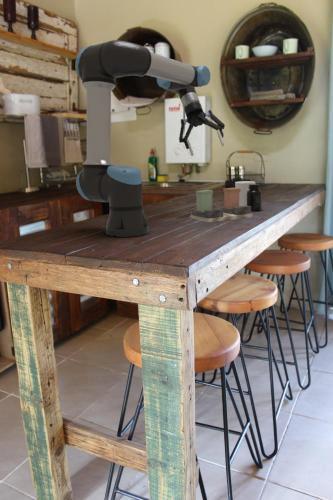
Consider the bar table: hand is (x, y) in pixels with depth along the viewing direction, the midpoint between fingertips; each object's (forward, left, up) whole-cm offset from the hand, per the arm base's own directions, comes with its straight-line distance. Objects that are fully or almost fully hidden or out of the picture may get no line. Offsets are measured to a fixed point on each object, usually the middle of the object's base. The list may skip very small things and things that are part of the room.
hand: (207, 149), depth 182 cm
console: (+1, -9, -28) cm, 29 cm away
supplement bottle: (+25, -1, -28) cm, 37 cm away
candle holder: (+30, +12, -28) cm, 43 cm away
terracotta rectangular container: (+8, -7, -26) cm, 28 cm away
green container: (-6, -7, -26) cm, 28 cm away
